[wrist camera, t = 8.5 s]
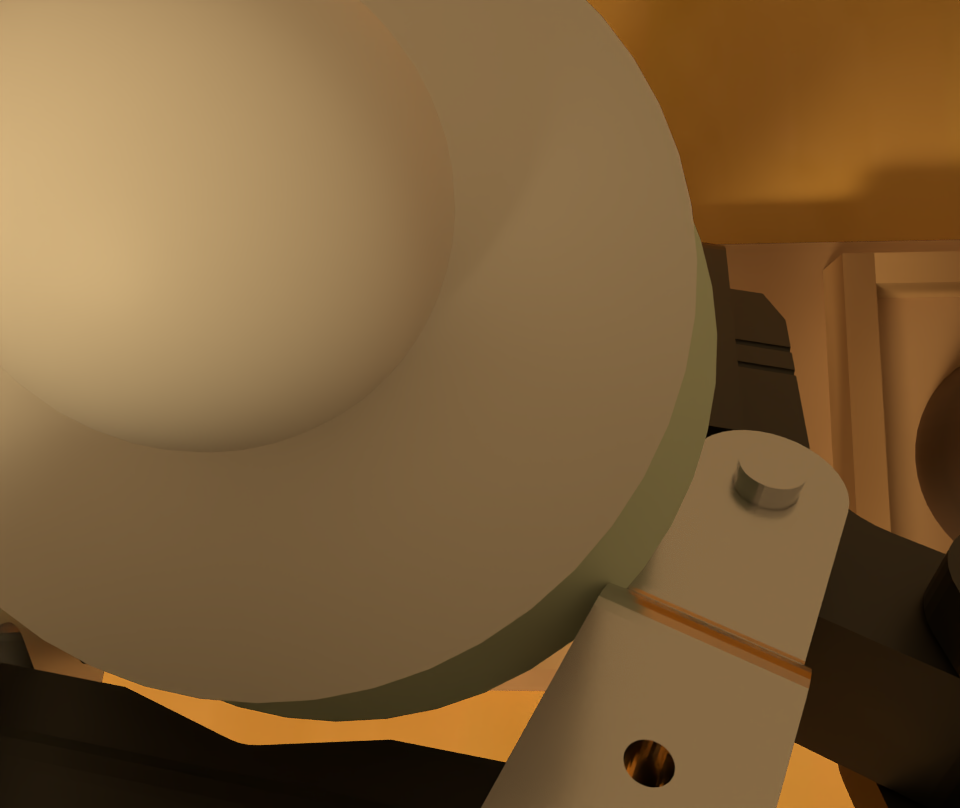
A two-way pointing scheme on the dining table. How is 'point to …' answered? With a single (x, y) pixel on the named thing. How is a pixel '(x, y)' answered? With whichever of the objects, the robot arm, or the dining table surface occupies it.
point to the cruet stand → (856, 367)
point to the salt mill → (336, 341)
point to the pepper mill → (941, 454)
